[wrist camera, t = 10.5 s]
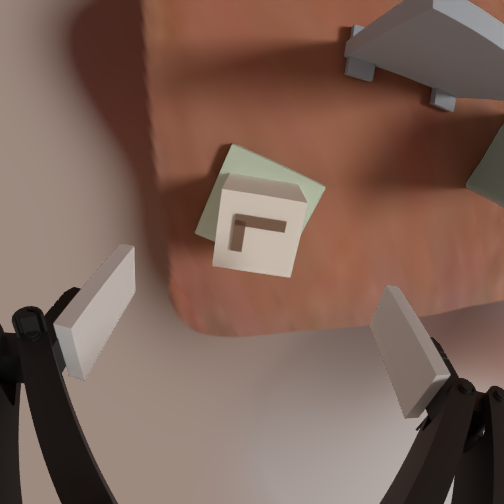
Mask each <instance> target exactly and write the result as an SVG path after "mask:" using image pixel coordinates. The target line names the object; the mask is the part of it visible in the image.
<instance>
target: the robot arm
mask: <svg viewBox="0 0 504 504" xmlns="http://www.w3.org/2000/svg"><path fill="white" fill-rule="evenodd" d="M134 293H135V261H134V246H131V245H125V244H120V245H119V246H118V247H117V248H116V250H115V251H114V252H113V253H112V254H111V255H110V256H109V257H108V258H107V259H106V261H105V262H104V263H103V264H102V265H101V266H100V267H99V269H98V270H97V271H96V272H95V273H94V274H93V276H92V277H91V278H90V279H89V280H88V282H87V283H86V284H85V285H84V286H83V287H82V288H81V289H80V288H76V287H73V288H71V289H69V290H68V291H66V292H64V294H63V295H62V296H61V297H60V298H59V300H57V301H56V303H55V304H54V306H52V307H51V309H50V310H49V311H48V312H47V313H46V315H45V316H44V314H43V312H42V310H41V309H39V308H38V307H33V306H28V307H24V308H21V309H19V310H18V311H16V312H15V313H14V315H13V316H12V323H13V326H14V329H15V332H16V333H4V331H3V328H2V326H1V325H0V504H22V496H21V486H20V472H19V445H18V431H19V428H18V427H19V403H20V390H21V383H24V384H25V388H26V394H27V398H28V403H29V407H30V411H31V415H32V419H33V423H34V427H35V430H36V434H37V438H38V441H39V444H40V447H41V450H42V454H43V457H44V460H45V462H46V465H47V468H48V471H49V474H50V476H51V479H52V482H53V484H54V487H55V489H56V492H57V494H58V497H59V499H60V501H61V503H62V504H118V503H117V501H116V499H115V497H114V496H113V494H112V492H111V490H110V488H109V486H108V485H107V483H106V481H105V479H104V477H103V475H102V473H101V471H100V469H99V467H98V465H97V463H96V461H95V459H94V456H93V454H92V452H91V450H90V448H89V445H88V443H87V441H86V438H85V436H84V434H83V431H82V429H81V426H80V424H79V421H78V419H77V416H76V413H75V411H74V408H73V405H72V403H71V400H70V397H69V394H68V391H67V388H66V385H65V382H64V379H63V376H62V372H63V370H64V368H65V367H66V368H67V371H68V374H69V376H71V377H74V378H77V379H80V380H83V381H85V380H86V378H87V376H88V374H89V373H90V371H91V369H92V367H93V365H94V363H95V361H96V360H97V358H98V356H99V354H100V352H101V350H102V349H103V347H104V345H105V343H106V341H107V340H108V338H109V336H110V334H111V333H112V331H113V329H114V327H115V326H116V324H117V322H118V320H119V319H120V317H121V315H122V313H123V312H124V310H125V308H126V307H127V305H128V303H129V302H130V300H131V298H132V297H133V295H134ZM369 326H370V329H371V331H372V334H373V336H374V339H375V341H376V343H377V346H378V348H379V351H380V353H381V356H382V358H383V361H384V364H385V366H386V369H387V371H388V374H389V377H390V379H391V382H392V385H393V387H394V390H395V392H396V395H397V398H398V401H399V404H400V407H401V409H402V412H403V415H404V418H417V417H419V416H420V415H421V414H422V412H423V411H424V410H425V409H426V410H427V413H428V416H427V417H426V418H425V419H424V420H423V422H422V423H421V424H420V425H419V426H418V427H417V429H416V430H418V429H419V428H420V430H419V432H418V434H417V437H416V439H415V441H414V443H413V445H412V447H411V449H410V451H409V453H408V455H407V457H406V459H405V461H404V463H403V464H402V466H401V468H400V470H399V472H398V474H397V475H396V477H395V479H394V481H393V483H392V484H391V486H390V488H389V489H388V491H387V493H386V494H385V496H384V498H383V499H382V501H381V502H380V504H444V502H445V499H446V497H447V494H448V491H449V489H450V486H451V484H452V481H453V478H454V476H455V478H454V487H453V495H452V502H451V504H504V390H503V389H502V388H500V387H498V386H492V387H490V389H489V390H488V391H487V392H486V393H482V392H478V391H476V389H475V387H474V386H473V384H472V383H471V382H469V381H468V380H466V379H464V378H459V377H458V375H457V373H456V371H455V370H454V368H453V366H452V364H451V363H450V361H449V359H447V356H446V354H445V353H444V350H443V349H442V347H441V346H440V344H439V343H438V342H437V341H436V340H435V339H434V338H432V337H429V335H428V334H427V332H426V330H425V328H424V327H423V325H422V323H421V322H420V320H419V319H418V317H417V315H416V314H415V312H414V310H413V309H412V307H411V306H410V304H409V302H408V301H407V299H406V298H405V296H404V295H403V293H402V292H401V290H400V289H399V287H397V286H390V285H386V287H385V290H384V292H383V295H382V297H381V300H380V302H379V304H378V307H377V309H376V312H375V314H374V316H373V318H372V321H371V323H370V325H369ZM484 430H485V432H484V435H483V431H484Z"/></svg>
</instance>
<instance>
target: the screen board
mask: <svg viewBox="0 0 504 504" xmlns="http://www.w3.org/2000/svg"><path fill="white" fill-rule="evenodd" d="M344 57H346V58H347V61H346V67H345V73H344V75H347V76H351V77H354V78H358V79H361V80H364V81H368V82H371V81H373V76H374V70H375V67H378V68H381V69H384V70H387V71H390V72H393V73H395V74H398V75H401V76H404V77H406V78H409V79H411V80H414V81H416V82H419V83H421V84H424V85H426V86H428V87H431V88H432V92H431V98H430V104H431V105H434V106H436V107H438V108H441V109H443V110H445V111H448V112H454V107H455V101H456V98H476V99H492V100H504V24H503V23H501V22H500V21H498V20H497V19H496V18H494V17H493V16H491V15H490V14H488V13H487V12H485V11H484V10H482V9H481V8H479V7H477V6H476V5H474V4H473V3H471V2H469V1H468V0H404V1H403V2H401V3H400V4H398V5H397V6H395V7H394V8H392V9H391V10H389V11H388V12H386V13H385V14H384V15H382V16H381V17H379V18H378V19H376V20H375V21H374V22H372V23H371V24H369V25H368V26H367V27H362V26H359V25H356V24H355V25H353V26H352V29H351V36H350V39H349V40H348V41H346V46H345V53H344Z"/></svg>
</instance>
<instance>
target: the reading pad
mask: <svg viewBox="0 0 504 504" xmlns="http://www.w3.org/2000/svg"><path fill="white" fill-rule="evenodd" d="M230 173H235V174H241V175H248V176H254V177H260V178H266V179H272V180H278V181H284V182H289V183H295V184H298V185H299V187H300V189H301V191H302V193H303V195H304V197H305V199H306V201H307V203H308V204H307V209H306V213H305V218H304V222H303V226H302V231H303V229H304V227H305V226H306V224H307V222H308V220H309V218H310V216H311V214H312V212H313V211H314V209H315V207H316V205H317V203H318V201H319V199H320V197H321V196H322V194H323V192H324V190H325V188H326V187H325V186H324V185H323V184H321V183H319V182H317V181H315V180H313V179H311V178H309V177H307V176H305V175H303V174H301V173H299V172H297V171H294V170H292V169H290V168H288V167H286V166H284V165H282V164H280V163H277V162H275V161H273V160H271V159H269V158H266V157H264V156H262V155H260V154H257V153H255V152H253V151H251V150H248V149H246V148H244V147H241V146H239V145H237V144H234V143H233V144H232V146H231V148H230V150H229V152H228V155H227V157H226V159H225V161H224V164H223V166H222V168H221V171H220V173H219V175H218V178H217V180H216V182H215V185H214V187H213V189H212V192H211V194H210V197H209V199H208V201H207V204H206V206H205V209H204V211H203V214H202V216H201V218H200V221H199V223H198V226H197V228H196V231H195V234H197V235H199V236H202V237H204V238H207V239H209V240H211V241H214V242H215V240H216V231H217V224H218V216H219V208H220V201H221V193H222V188H223V186H224V184H225V182H226V180H227V178H228V176H229V174H230ZM302 231H301V233H302Z"/></svg>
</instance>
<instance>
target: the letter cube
mask: <svg viewBox="0 0 504 504" xmlns="http://www.w3.org/2000/svg"><path fill="white" fill-rule="evenodd" d="M307 204H308V203H307V201H306V199H305V197H304V195H303V193H302V191H301V189H300V187H299V185H298V184H295V183H289V182H284V181H278V180H272V179H266V178H260V177H254V176H248V175H241V174H235V173H230V174H229V176H228V178H227V180H226V182H225V184H224V186H223V188H222V193H221V201H220V208H219V216H218V224H217V231H216V240H215V248H214V256H213V265H212V266H216V267H223V268H229V269H236V270H242V271H249V272H256V273H262V274H269V275H276V276H282V277H289V278H290V277H291V273H292V268H293V264H294V260H295V256H296V252H297V248H298V244H299V239H300V235H301V231H302V226H303V222H304V218H305V213H306V209H307Z"/></svg>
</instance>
